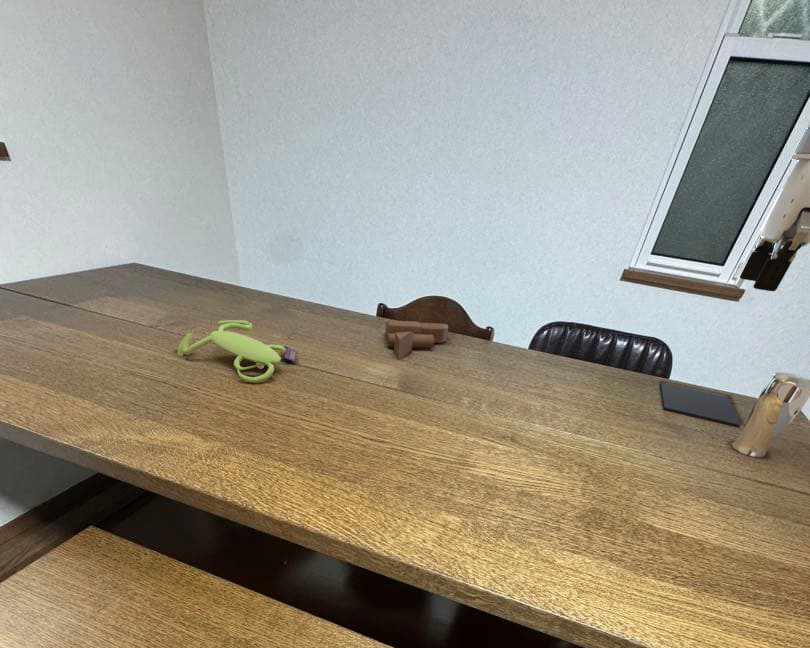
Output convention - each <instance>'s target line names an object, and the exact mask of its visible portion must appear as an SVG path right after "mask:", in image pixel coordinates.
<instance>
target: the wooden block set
mask: <svg viewBox="0 0 810 648" xmlns="http://www.w3.org/2000/svg"><path fill="white" fill-rule="evenodd" d="M448 333H449V325H448V324H447V323H435V322H434V323H433V322H420V321H411V320H410V321H409V320H390V319H389V320H386V322H385V334H384V335H385V336H384V337H385V339H386V346H387V347H388V348H393V354H394V355H395V358H396V359H397V360H398V361H399V360H401V359H402V358H405V357H407V356H408V355H411V354H413V348H414V349H416V348H417V349H432V348H434V344H442V343H444V342H446V341H447V339H448Z"/></svg>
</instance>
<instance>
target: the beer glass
mask: <svg viewBox="0 0 810 648" xmlns="http://www.w3.org/2000/svg"><path fill="white" fill-rule="evenodd" d="M809 398H810V379H809V378H806V377H805V376H804V377H803V376H800V375H797V374H793V373H788V372H775V373H774V374H773V375H772V376H771V378H770V379H769V380H768V382H767V383H766V385H765V386H764V387H763V389H762V390H761V392H760V393H759V395H758V397H757V398H756V399H755V401H754V404H753V406H752V408H751V410H750V412H749V415H748V418H747V420H746V423H745V425H744V427H743V429H742V431H741V433H740V434H739V436H738V437H737V438H736V439H735V440H734V441H733V442H732V443H731V446H732V448H733V449H734V450H736V451H738V452H740V453H741V454H744V455H747V456H748V457H749V456H751V457H754V458H763V457H765V456H766V454H767V452H768V449H769V448H770V446H771V444H772V443H773V442H774V440H776V438H777V437H778V436H779V435H780V434H781V433H782V432H783V431H784V430H785V429H786V428H787V427H788V425H789V424H791V422H793V420H794V419H795V418H796V417H797V416H798V415H799V413H800V412H801V410H802V409H803V408H804V407H805V404H806V403H807V402H808V400H809Z"/></svg>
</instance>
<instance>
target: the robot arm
mask: <svg viewBox="0 0 810 648" xmlns="http://www.w3.org/2000/svg"><path fill="white" fill-rule="evenodd" d="M794 150H795V151H794V153H793V154H792V156H791V160H792V161H796V163H795V165H794V167H793V169H792V170H791V172H790V173H789V176H787V178H786V181H785V182H784V184H783V186H782V187H781V190H780V192H779V194H778V196H777V198H776V199H775V201H774V203H773V205H772V207H771V209H770V211H769V213H768V216H767V217H766V219H765V221H764V223H763V226H762V228H761V230H760V234H759V235H760V236H759V240H758V241H757V242H756V244H755V245H754V247H753V249H752V251H751V253H750V255H749V258H748V259H747V260H746V263H745V265H744V267H743V269H742V271H741V272H740V275H739V278H740V280H745V281H751V282H752V281H753V282H754V284H753V286H752V287H753V288H754V289H755V290H761V291H767V292H776V291H777V290H778V288H779V286H780V284H781V282H782V281H783V279H784V277H785V276H786V274H787V273H788V270H789V269H790V266H791V265H792V263H793V261H795V259H796V256H797V253H798V251H799V250H801V248H803V247H805V246H807V245H809V244H810V121H809V122H808V124H807V126H806V129H805V130H804V132H803V134H802V137H801V138H800V141H799V143H798V145H797V147H796V148H795V149H794Z"/></svg>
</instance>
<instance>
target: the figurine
mask: <svg viewBox="0 0 810 648" xmlns="http://www.w3.org/2000/svg"><path fill="white" fill-rule="evenodd" d="M217 326H218V328H217V330H213V331H211V332H210V334H209V335H208V336H205V337H204V338H202V339H200V340H199V341H196V342H194V343H193V344H191V342H192V341H193V338H194V334H193V333H192V332H188V333H186V334H185V336H184V337H183V339H182V340H181V341H180V344H179V346H178V348H177V355H178V356H179V357H183V356H184V355H185V356H187V355H188V356H189V355H191V354H193V353H194V352H196V351H197V350H198V349H200V348H202V347H204V346H205V345H208V344H209V343H211V342H213V343H214V344H215V345H217V347H220V348H221V349H222V350H224V351H225V352H227V353H229V354H231V355H234V356H235V357H236V358H235V359H234V360H233V366H234V369H235V370H237V374H238V376H239V378H240V380H243V381H244V382H247V383H251V384H258V383H263V382H265V381H266V380H269V379H270V378H271V377H272V375H274V372H275V365H277V364H279V363H281V360H282V358H283V359H285V360H289V361H292V362H295V361H296V357H297V353H298V351H297V350H295V349H292V348H290V347H288V346H286V345H279V344H277V345H276V344H272V343H271V344H265V343H264V342H262V341H260V340H257V339H256V338H252V337H250V336H248V335H244V334H241V333H237V332H234V331H228V330H230V329H237V330H242V331H247V332H248V331H251V330H252V329H253V324H252V323H251V322H250V321H248V320H244V319H227V320H218V322H217ZM226 330H227V331H226ZM190 344H191V345H190ZM277 351H281V352H282V353H283V355H282V354H281V355H280V354H279V353H278V352H277ZM243 360H247V361H250V362H254V363H255V364H254V365H250V366H246V367H243V366H241V362H242V361H243ZM265 366H267V367H268V368H267V370H266V372H265V373H263V374H261V375H258V376H254V377H253V376H248V375H245V374H243V373H241V371H247V370H250V369H255V368H257V369H258V370H262V369H264V368H265Z"/></svg>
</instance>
